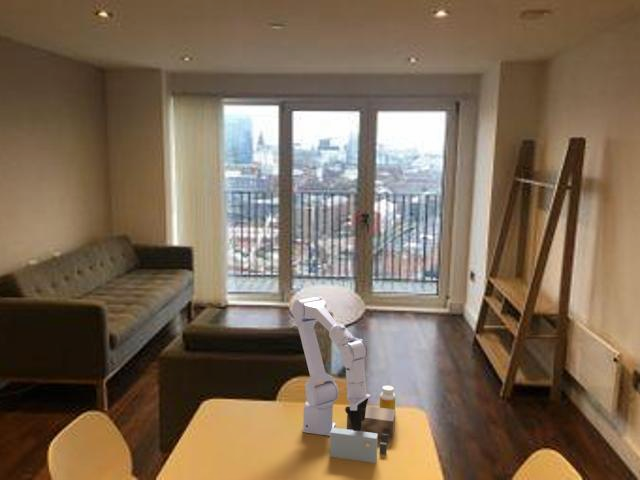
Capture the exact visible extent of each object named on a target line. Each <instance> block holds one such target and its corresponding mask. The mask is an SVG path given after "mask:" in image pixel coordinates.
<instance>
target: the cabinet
mask: <svg viewBox="0 0 640 480" xmlns="http://www.w3.org/2000/svg"><path fill="white" fill-rule="evenodd" d="M396 411H397V410H396V408H395V409H387V408H380V406H379V407H377V406H368V405H366V413H365V419H364V421H362V425H361V430H360V431H363V432H370V433H377V434H378V438H379V437H380V438H381V441H380V443H379V453H380V454H385V455H386V454H387V449H388V448H387V447H388V445H389V441H390V439H394V431H395V427H396ZM346 429H348V430H353V428H352V424H351V421H350V418H349V416H348V414H347V413H346Z"/></svg>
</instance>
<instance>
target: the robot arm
mask: <svg viewBox="0 0 640 480" xmlns="http://www.w3.org/2000/svg"><path fill="white" fill-rule="evenodd" d="M327 309H328V308H327V303H326V301H325V300H324V299H323V297H322V296H321V295H316V296H313V297H308V298H303V299H296V300H294V301H293V304H292V307H291V313H292V317H293V321H294V324H295V326H296V327H297V330H298V333H299V337H300V340H301V345H302V349H303V352H304V357H305V361H306V365H307V368H308V373H309V378H308V379H307V380H306V382H305V384H304V389H305V399H306V400H305V404H304V406H303V418H302V419H303V421H302V423H303V426H302V428H303V429H302V432H303V433H308V434H315V435H321V436H328V437H330V432H331V429H332V427H333V428H336V427H335V426H336V422H333V418H334V415H333V414H334V413H333V412H334V409H333V408H334V405H335V403H336V400H338V398H339V394H340V393H339V387H338V385H337V384H336V382H335V380H334V376H332V375H330V374H328V373H327V372H326V369H325V364H324V361H323V357H322V353H321V349H320V345H319V342H318V338H317V334H316V330H315V325H316V323H317V322H319V324H321V325H322V326H323V327H324V328H325V329H326V330H327V331H328V332H329V334H328V338H330V340H331V341H332V343H334V345H335V346H336V347H337V348H338V349H339V350H340V351H339V353H340V356H341V359H342V361H343V363H342V364H343V366H344V368H345V378H346V379H345V380H346V391H347V393H346V394H347V395H346V399H347V401H348V403H349V406H345V408H344V410H345V413H346V415H347V414H348V416H349V418H350V421H351V424H352V428H353V431H360V430H361V425H362V421H364V419H365V413H366V406H368V401H369V399H371V394H369V393H367V383H366V382H367V381H366V380H367V379H366V370H365V369H366V368H365V367H366V365H365V358H367V357H368V354H369V353H368V352H369V350H368V346H367V344H366V342H365V341H364V340H363V339H362V338H358V337H355V336H354V335H353V334H352V333H351V332H350V331H349V330H348V329H347V327H346V325H344V324H342V323H341V324H338V323H337V321H336V320H335V318H333V316H332V315H331V313H330V311H328V310H327Z"/></svg>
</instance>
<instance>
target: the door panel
mask: <svg viewBox="0 0 640 480" xmlns="http://www.w3.org/2000/svg"><path fill="white" fill-rule="evenodd" d="M378 438H379V437H378V434H377V433H370V432H363V431H353V430H348V429H347V428H339V427H334V428H333V427H332V429H331V432H330V436H329V457H333V458H338V459H345V460H350V461H351V460H353V461H359V462H360V461H361V462H365V463H372V464H373V463H374V464H376V463H377V459H378V440H379V439H378Z"/></svg>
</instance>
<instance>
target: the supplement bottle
mask: <svg viewBox="0 0 640 480" xmlns="http://www.w3.org/2000/svg"><path fill="white" fill-rule="evenodd" d="M381 391H382V392H380V394H379V408H387V409H395V410H396V394H395V392H394V391H395V390H394V387H393V386H392V385H383V386H382V389H381Z"/></svg>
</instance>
